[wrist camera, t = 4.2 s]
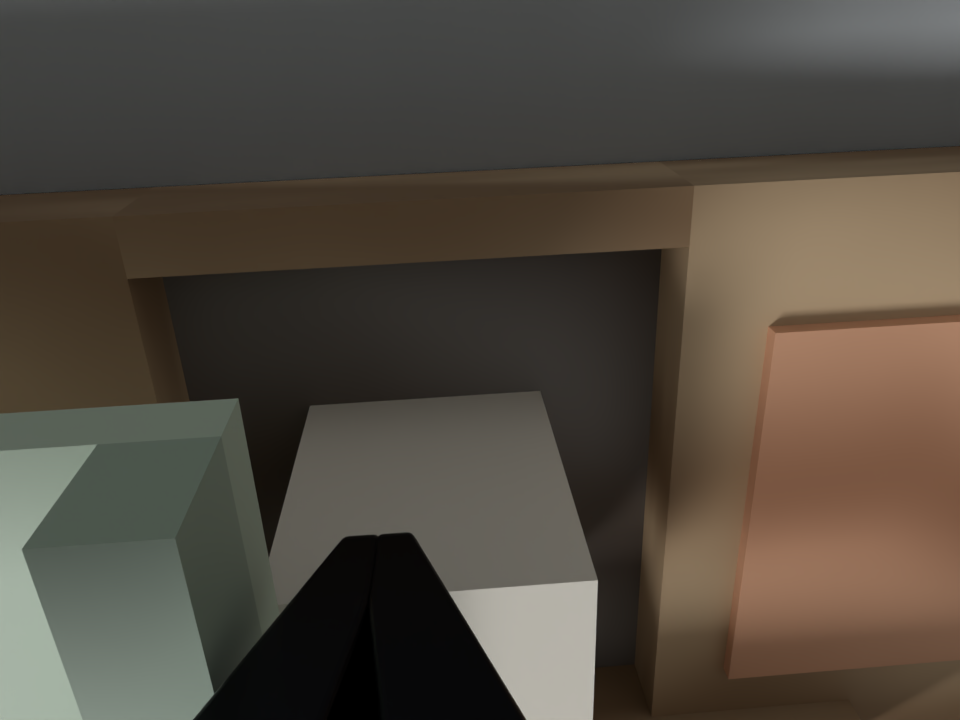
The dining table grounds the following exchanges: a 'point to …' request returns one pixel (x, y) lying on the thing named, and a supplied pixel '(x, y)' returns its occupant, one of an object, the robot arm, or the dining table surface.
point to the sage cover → (127, 560)
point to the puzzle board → (586, 382)
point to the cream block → (459, 526)
